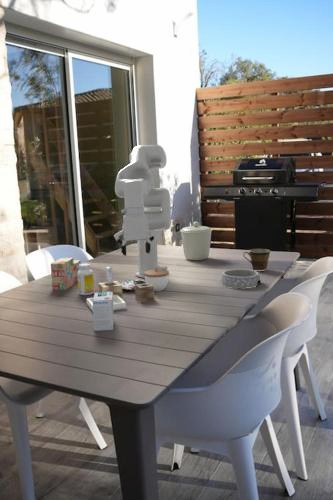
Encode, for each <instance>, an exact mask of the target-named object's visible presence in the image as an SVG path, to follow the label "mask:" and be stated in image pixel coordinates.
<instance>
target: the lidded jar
mask: <svg viewBox="0 0 333 500" xmlns="http://www.w3.org/2000/svg"><path fill="white" fill-rule="evenodd" d="M169 274H170V272H169V270H168V269H167V270H163V269H158V268H155V269H154V270H148V271H145V272H144V275H145V278H144V281H145V283H150V284H151V285H153V286H154V292H160V291H163V290H165V288H166V287H167V286H168V283H169V278H170V277H169Z"/></svg>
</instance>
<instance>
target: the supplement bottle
mask: <svg viewBox="0 0 333 500" xmlns="http://www.w3.org/2000/svg"><path fill="white" fill-rule="evenodd" d="M79 268H80V270H79V271H78V272H77V277H78V281H77V287H78V289H77V290H78V294H79V295H81V296H90V295H94V293H95V287H94V284H95V283H94V273H93V272H94V271H93V270H92V269H91V264H90V263H81V264H80V265H79Z"/></svg>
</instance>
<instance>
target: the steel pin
mask: <svg viewBox="0 0 333 500" xmlns="http://www.w3.org/2000/svg"><path fill="white" fill-rule="evenodd" d="M105 277H106V278H105V279H106V282H107V286H109V285H113V281H114V277H113V267H112V266H107V267H105Z"/></svg>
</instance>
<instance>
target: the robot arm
mask: <svg viewBox="0 0 333 500" xmlns="http://www.w3.org/2000/svg"><path fill="white" fill-rule="evenodd" d="M128 158H129V159H128V160H129V164H128V165H126V166H125V167H124V168H122V169H120V171H118V172H117V175H116V178H115V184H114V192H115V195H116V196H117V197H118V198H121V199H124V200H123V201H124V209H123V208H122V209H121V210H120V212H121V214H124V215H123V218H122V226H121V227H122V229H121V230H120V231H118V232H117V233H115V234H114V235H113V237H114V239H115V240H116V242H117V243H118V244H119V245H120V246H121V247H120V248H121V251H120V252H121V254H122V256H127V246H126V243H127V242H135V241H137V242H136V243H137V263H138V264H137V265H138V266H137V267H138V271H137V272H135V276H136V277H138V278H142V279H143V278H144V279H145V275H144V272H145V271H148V270H154V269H155V268H158V269H163V270H167V271H168V266H167V265H159V264H158V262H159V261H158V240H157V237H156V235H157V231H168V230H170V229H171V226H172V210H171V207H172V206H171V194H170V193H171V192H170V191H169V190H168V189H167V188H166V187H156V186H155V176H154V175H153V173H152V172H151V171H150V170H161V169H164V168H165V167H166V165H167V154H166V151H165V149H164V148H163V146H162V145H159V144H140V145H136V146H135V147H133V149H132V150H131V152H130V154H129V155H128ZM145 209H160V210H145ZM120 236H121V237H122V240H121V239H120Z"/></svg>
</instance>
